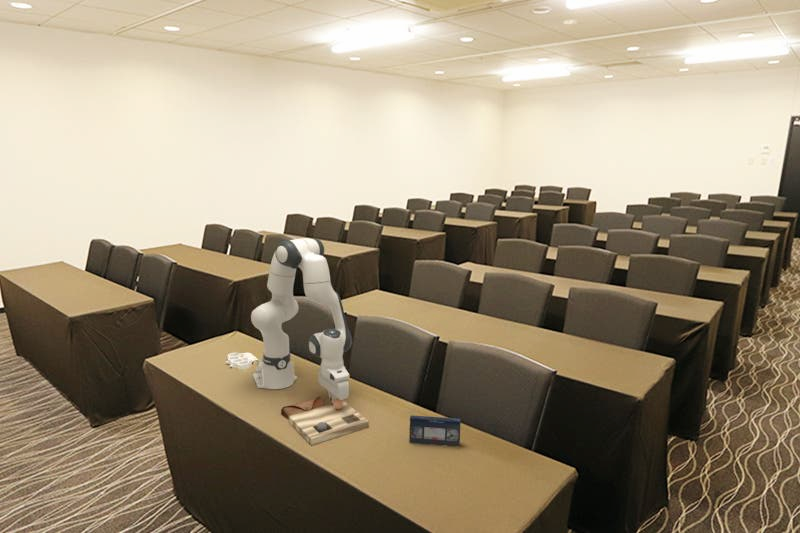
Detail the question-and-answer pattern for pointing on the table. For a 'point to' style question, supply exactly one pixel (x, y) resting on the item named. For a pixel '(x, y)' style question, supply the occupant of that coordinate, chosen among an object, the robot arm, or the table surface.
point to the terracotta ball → (338, 404)
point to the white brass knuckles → (241, 360)
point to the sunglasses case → (302, 407)
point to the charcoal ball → (321, 427)
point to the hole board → (328, 422)
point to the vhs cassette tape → (434, 430)
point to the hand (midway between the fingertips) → (332, 401)
